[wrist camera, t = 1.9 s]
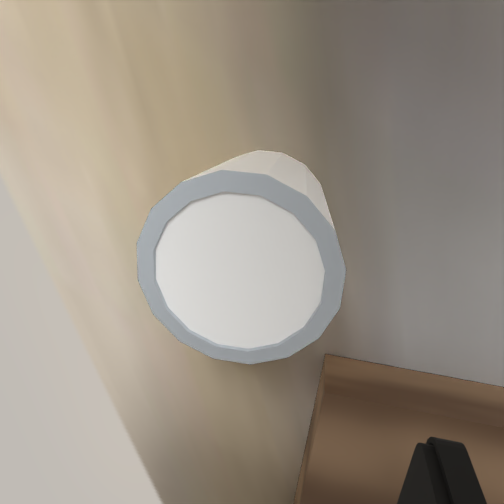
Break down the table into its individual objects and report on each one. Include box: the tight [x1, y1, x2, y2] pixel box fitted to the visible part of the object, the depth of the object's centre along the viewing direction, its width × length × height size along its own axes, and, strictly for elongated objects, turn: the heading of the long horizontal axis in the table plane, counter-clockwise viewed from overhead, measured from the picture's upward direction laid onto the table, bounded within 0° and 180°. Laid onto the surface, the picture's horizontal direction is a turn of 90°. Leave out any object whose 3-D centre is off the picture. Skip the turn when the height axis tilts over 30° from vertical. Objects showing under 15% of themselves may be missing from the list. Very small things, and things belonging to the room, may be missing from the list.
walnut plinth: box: [293, 354, 504, 504], centre depth 24 cm, size 12×12×3 cm
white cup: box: [137, 150, 346, 364], centre depth 18 cm, size 7×7×7 cm
